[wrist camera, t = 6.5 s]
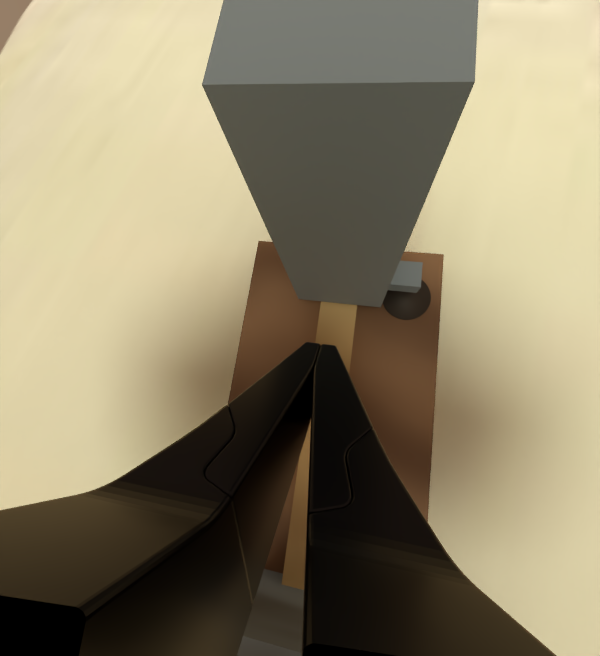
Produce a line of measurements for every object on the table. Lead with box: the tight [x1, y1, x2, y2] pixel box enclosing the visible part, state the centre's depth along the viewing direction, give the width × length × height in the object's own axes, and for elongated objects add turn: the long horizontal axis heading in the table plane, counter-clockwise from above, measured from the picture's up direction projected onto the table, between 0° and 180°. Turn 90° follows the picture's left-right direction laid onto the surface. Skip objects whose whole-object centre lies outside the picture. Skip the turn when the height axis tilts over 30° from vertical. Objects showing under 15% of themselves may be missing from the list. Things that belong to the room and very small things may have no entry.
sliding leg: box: [202, 0, 478, 307], centre depth 10 cm, size 3×6×12 cm, turn 81°
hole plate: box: [228, 241, 444, 656], centre depth 14 cm, size 20×10×5 cm, turn 171°
